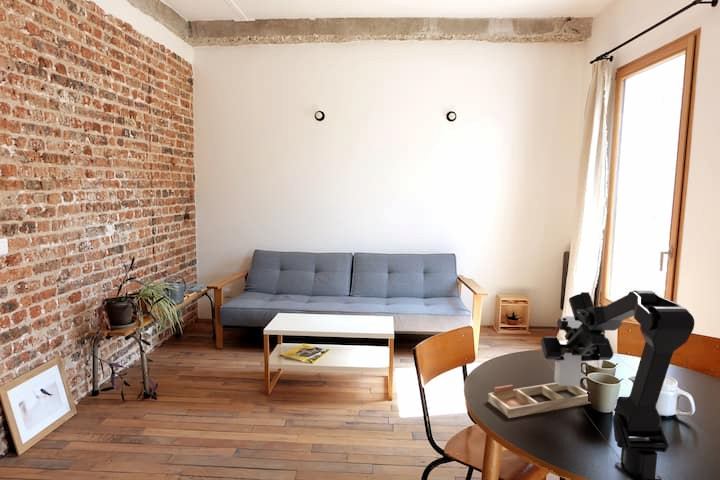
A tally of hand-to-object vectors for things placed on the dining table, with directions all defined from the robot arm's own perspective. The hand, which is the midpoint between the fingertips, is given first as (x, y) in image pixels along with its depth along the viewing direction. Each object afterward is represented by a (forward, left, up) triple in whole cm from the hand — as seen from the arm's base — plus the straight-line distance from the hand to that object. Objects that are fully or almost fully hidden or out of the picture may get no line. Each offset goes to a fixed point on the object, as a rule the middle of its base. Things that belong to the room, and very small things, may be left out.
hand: (566, 360), depth 134 cm
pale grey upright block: (-1, 0, -7) cm, 7 cm away
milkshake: (+9, -16, -11) cm, 22 cm away
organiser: (-3, +9, -11) cm, 15 cm away
